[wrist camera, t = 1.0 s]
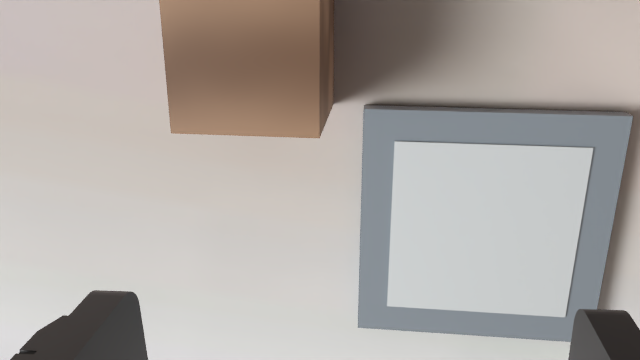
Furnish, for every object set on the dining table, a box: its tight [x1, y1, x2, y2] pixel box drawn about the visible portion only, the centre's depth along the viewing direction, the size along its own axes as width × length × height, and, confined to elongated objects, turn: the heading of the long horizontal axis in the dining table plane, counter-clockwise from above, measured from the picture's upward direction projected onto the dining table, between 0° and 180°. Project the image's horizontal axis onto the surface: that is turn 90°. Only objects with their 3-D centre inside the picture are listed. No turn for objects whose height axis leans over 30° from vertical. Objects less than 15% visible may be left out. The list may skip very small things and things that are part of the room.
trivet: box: [358, 105, 633, 342], centre depth 30 cm, size 12×12×1 cm
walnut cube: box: [159, 0, 334, 138], centre depth 25 cm, size 6×6×6 cm
